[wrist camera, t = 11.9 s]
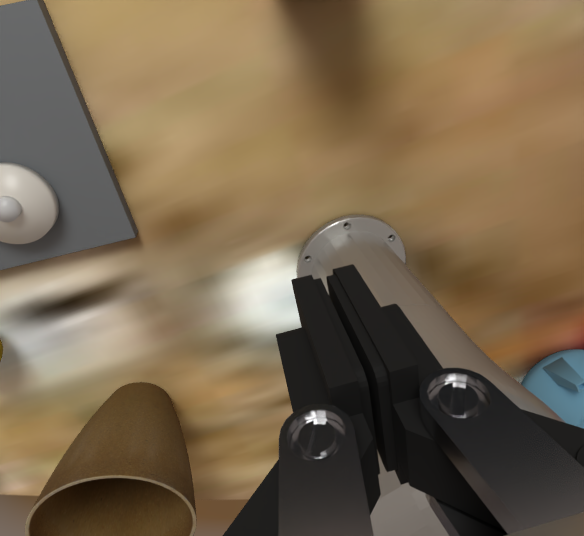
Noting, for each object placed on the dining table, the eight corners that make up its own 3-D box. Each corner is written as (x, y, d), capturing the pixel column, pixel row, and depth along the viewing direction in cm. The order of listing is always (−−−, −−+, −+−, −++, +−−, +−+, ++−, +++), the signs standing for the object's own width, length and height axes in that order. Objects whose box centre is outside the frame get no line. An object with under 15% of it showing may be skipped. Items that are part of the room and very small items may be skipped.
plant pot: (217, 373, 53) (220, 491, 39) (177, 452, 58) (166, 581, 44) (93, 342, 48) (45, 466, 34) (61, 432, 53) (8, 571, 39)
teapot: (573, 415, 70) (629, 472, 60) (494, 417, 66) (541, 479, 57) (618, 340, 63) (690, 393, 54) (533, 339, 60) (593, 394, 50)
